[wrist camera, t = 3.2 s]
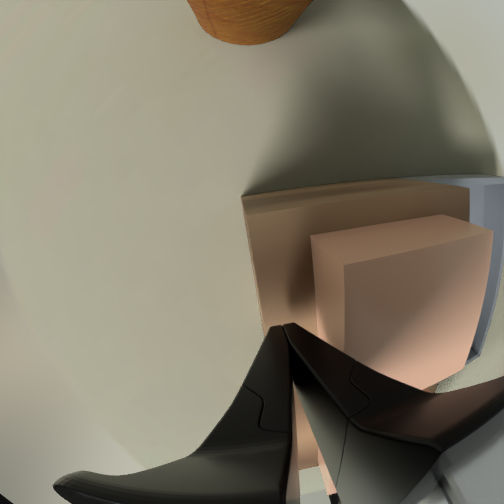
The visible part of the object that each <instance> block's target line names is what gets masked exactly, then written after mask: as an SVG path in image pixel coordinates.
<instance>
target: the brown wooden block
mask: <svg viewBox="0 0 504 504" xmlns="http://www.w3.org/2000/svg"><path fill="white" fill-rule="evenodd" d="M241 201H242V207H243V212H244V218H245V224H246V230H247V236H248V242H249V248H250V254H251V260H252V266H253V272H254V278H255V284H256V290H257V296H258V302H259V308H260V314H261V319H262V325H263V331H264V337H265V336H266V334H267V332H268V330H269V328H270V327H271V326H277V325H282V326H283V324H287V323H292V322H294V323H296V324H298V325H299V326H301V327H303V328H304V329H306V330H307V331H309V332H311V333H312V334H314V335H316V336H317V337H318V333H317V314H316V298H315V283H314V271H313V259H312V248H311V238H310V235H316V234H322V233H328V232H334V231H341V230H347V229H353V228H359V227H365V226H371V225H377V224H384V223H390V222H396V221H402V220H409V219H415V218H421V217H428V216H434V215H440V214H443V215H447V216H450V217H453V218H457V219H460V220H463V221H466V222H469V221H470V189H469V188H466V187H460V186H454V185H447V184H441V183H434V182H426V181H418V180H409V179H400V178H385V179H374V180H363V181H353V182H343V183H334V184H326V185H317V186H309V187H302V188H294V189H287V190H280V191H273V192H267V193H260V194H254V195H248V196H242V197H241ZM437 385H438V383H436V384H434V385H431V386H429V387H427V388H428V389H429V390H430V392H431V393H435V390H436V388H437ZM293 386H294V383H293ZM294 398H295V412H296V427H297V444H298V463H299V470H302V469H306V468H311V467H315V466H319V463H318V444H317V442H316V439H315V437H314V434H313V432H312V429H311V427H310V424H309V422H308V419H307V417H306V414H305V412H304V409H303V407H302V404H301V402H300V399H299V397H298V394H297V392H296V389H295V386H294Z"/></svg>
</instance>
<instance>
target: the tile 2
mask: <svg viewBox="0 0 504 504" xmlns="http://www.w3.org/2000/svg"><path fill="white" fill-rule="evenodd" d="M310 238H311V248H312V259H313V271H314V283H315V298H316V314H317V333H318V337H319V338H320V339H322V340H324V341H325V342H327V343H329V344H330V345H332V346H334V347H335V348H337V349H339V350H340V351H342V352H344V353H345V354H347V355H349V356H350V357H352V358H354V359H355V360H356V361H359V362H361V363H362V364H364V365H366V366H368V367H370V368H371V369H373V370H375V371H377V372H379V373H381V374H384V375H386V376H388V377H390V378H393V379H395V380H398V381H400V382H403V383H405V384H408V385H410V386H413V387H415V388H418V389H420V390H423V389H425V388H427V387H429V386H431V385H434V384H436V383H438V382H440V381H441V380H443V379H445V378H447V377H449V376H451V375H453V374H455V373H456V372H458V371H460V370H462V369H463V368H464V366H465V363H466V360H467V357H468V354H469V351H470V348H471V345H472V342H473V339H474V336H475V332H476V329H477V325H478V321H479V318H480V314H481V309H482V305H483V301H484V296H485V291H486V286H487V280H488V274H489V268H490V260H491V252H492V242H493V230H490V229H487V228H484V227H481V226H478V225H475V224H472V223H469V222H466V221H463V220H460V219H457V218H453V217H450V216H447V215H443V214H440V215H434V216H428V217H421V218H415V219H409V220H402V221H396V222H390V223H384V224H377V225H371V226H365V227H359V228H353V229H347V230H341V231H334V232H328V233H322V234H316V235H310Z"/></svg>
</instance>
